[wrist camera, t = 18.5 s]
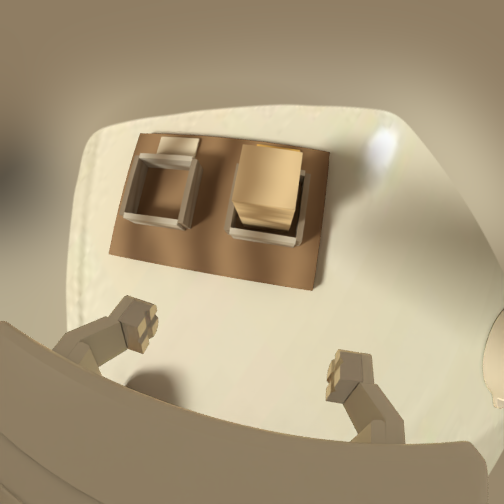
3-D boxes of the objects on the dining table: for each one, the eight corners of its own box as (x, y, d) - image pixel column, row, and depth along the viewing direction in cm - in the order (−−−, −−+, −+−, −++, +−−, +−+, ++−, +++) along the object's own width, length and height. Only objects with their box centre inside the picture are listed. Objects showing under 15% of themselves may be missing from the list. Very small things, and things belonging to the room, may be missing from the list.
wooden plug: (294, 191, 32) (302, 152, 22) (288, 233, 32) (295, 209, 22) (251, 185, 33) (242, 144, 23) (243, 226, 32) (231, 200, 22)
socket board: (327, 157, 34) (334, 140, 30) (310, 290, 32) (316, 291, 28) (144, 138, 36) (131, 122, 32) (114, 255, 34) (95, 251, 30)
